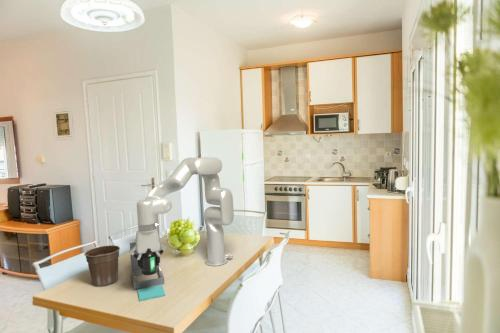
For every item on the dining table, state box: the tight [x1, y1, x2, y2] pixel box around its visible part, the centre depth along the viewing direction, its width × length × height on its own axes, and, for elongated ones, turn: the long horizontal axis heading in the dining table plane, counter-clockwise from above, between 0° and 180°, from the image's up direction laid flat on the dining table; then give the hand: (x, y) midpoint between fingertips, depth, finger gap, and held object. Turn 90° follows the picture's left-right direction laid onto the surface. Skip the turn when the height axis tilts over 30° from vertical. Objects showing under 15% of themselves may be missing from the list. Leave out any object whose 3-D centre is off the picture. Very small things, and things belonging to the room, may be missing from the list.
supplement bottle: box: [141, 248, 158, 276], centre depth 151 cm, size 7×7×12 cm
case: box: [129, 241, 165, 290], centre depth 168 cm, size 14×20×17 cm
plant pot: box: [83, 245, 121, 287], centre depth 167 cm, size 16×16×16 cm
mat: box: [137, 284, 166, 302], centre depth 152 cm, size 11×11×1 cm
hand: (149, 265), depth 151 cm, fingers closed on supplement bottle, 6 cm apart
